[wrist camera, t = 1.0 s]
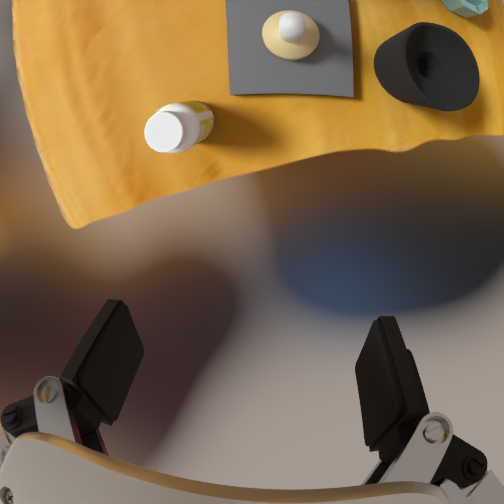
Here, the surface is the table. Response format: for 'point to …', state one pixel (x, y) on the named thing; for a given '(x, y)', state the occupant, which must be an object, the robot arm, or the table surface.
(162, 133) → the supplement bottle
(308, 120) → the table surface
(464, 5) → the ring
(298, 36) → the post stand
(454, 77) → the pen holder
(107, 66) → the table surface
